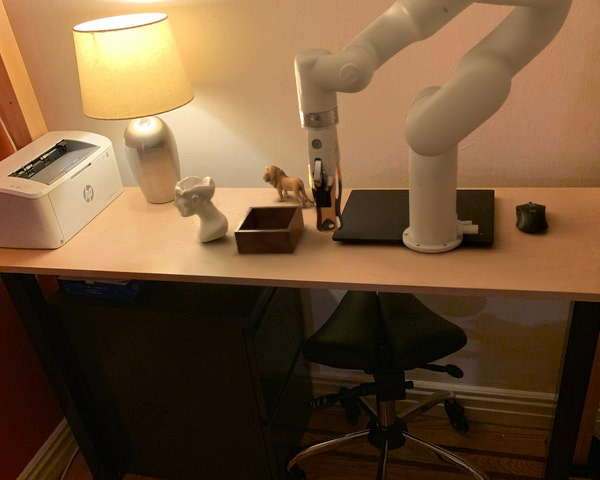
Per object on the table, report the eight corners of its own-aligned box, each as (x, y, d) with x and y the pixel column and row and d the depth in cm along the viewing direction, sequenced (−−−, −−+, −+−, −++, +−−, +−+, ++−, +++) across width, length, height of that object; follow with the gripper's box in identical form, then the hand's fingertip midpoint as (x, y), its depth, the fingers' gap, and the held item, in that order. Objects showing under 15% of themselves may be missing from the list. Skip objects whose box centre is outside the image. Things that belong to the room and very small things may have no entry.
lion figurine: (263, 201, 155) (257, 168, 150) (275, 193, 158) (270, 161, 153) (309, 209, 147) (305, 175, 142) (321, 201, 150) (317, 167, 145)
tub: (304, 226, 140) (301, 205, 136) (292, 253, 129) (289, 231, 126) (253, 227, 143) (249, 206, 140) (238, 253, 132) (233, 231, 129)
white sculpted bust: (235, 241, 137) (223, 181, 129) (189, 255, 135) (173, 194, 126) (224, 226, 145) (211, 168, 137) (179, 238, 142) (164, 180, 134)
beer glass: (343, 233, 127) (337, 167, 119) (311, 234, 129) (304, 169, 121) (347, 219, 133) (342, 155, 125) (317, 219, 134) (310, 156, 126)
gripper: (330, 130, 110) (338, 217, 119) (344, 102, 123) (350, 182, 133) (291, 132, 111) (302, 217, 121) (309, 104, 125) (317, 183, 135)
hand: (327, 198), depth 127 cm, fingers closed on beer glass, 7 cm apart
